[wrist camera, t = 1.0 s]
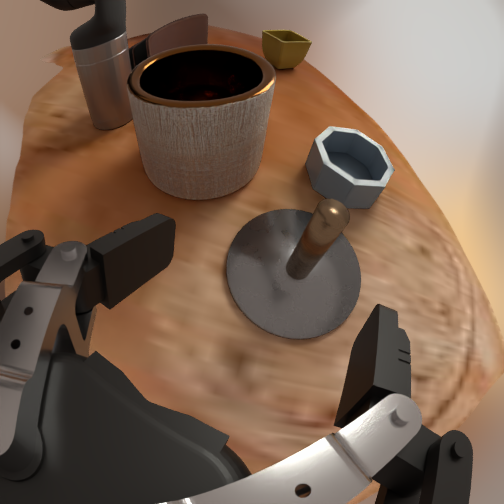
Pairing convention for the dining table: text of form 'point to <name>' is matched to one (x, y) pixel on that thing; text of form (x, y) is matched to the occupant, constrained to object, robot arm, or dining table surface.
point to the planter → (201, 118)
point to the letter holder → (171, 38)
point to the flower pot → (284, 48)
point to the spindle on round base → (295, 271)
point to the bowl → (348, 167)
